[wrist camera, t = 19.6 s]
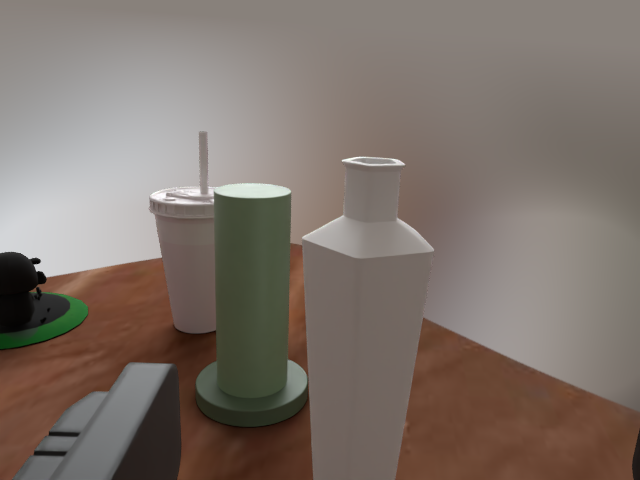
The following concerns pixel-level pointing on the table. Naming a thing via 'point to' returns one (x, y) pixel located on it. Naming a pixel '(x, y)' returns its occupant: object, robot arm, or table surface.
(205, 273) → the smoothie
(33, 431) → the table surface
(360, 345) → the perfume bottle
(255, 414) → the post
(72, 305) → the toy figurine
